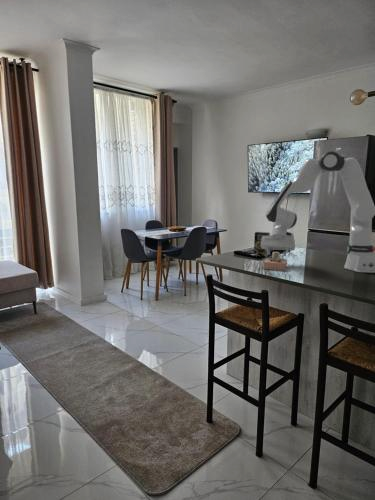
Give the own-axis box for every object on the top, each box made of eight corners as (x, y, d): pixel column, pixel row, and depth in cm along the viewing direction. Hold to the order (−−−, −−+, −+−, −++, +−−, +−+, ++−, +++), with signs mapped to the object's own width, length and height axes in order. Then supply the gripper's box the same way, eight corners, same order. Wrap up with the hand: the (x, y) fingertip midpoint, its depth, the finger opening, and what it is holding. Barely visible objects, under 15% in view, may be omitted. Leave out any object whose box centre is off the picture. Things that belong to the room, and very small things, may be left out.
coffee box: (253, 255, 235) (254, 232, 232) (256, 254, 240) (256, 231, 237) (266, 257, 231) (267, 233, 228) (269, 255, 236) (270, 232, 233)
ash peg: (279, 266, 204) (279, 252, 202) (278, 268, 200) (279, 253, 198) (272, 266, 205) (272, 251, 203) (271, 267, 201) (272, 252, 200)
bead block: (286, 265, 206) (286, 259, 205) (284, 270, 195) (285, 263, 194) (266, 264, 210) (266, 257, 209) (263, 268, 199) (263, 262, 198)
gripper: (261, 232, 213) (258, 250, 206) (296, 233, 206) (294, 252, 199) (262, 238, 218) (259, 256, 211) (296, 240, 211) (294, 258, 204)
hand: (276, 254), depth 205 cm, fingers open, 8 cm apart
